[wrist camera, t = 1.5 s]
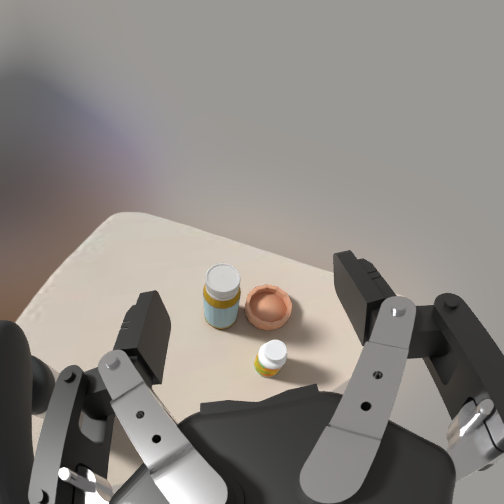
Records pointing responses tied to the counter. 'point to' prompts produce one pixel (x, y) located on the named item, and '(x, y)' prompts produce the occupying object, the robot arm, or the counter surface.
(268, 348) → the supplement bottle
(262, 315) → the terracotta dish
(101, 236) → the counter surface
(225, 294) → the bottle
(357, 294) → the robot arm
